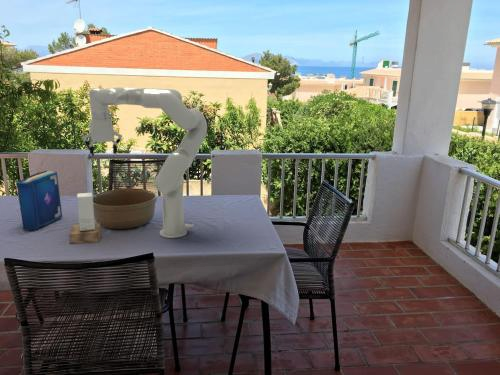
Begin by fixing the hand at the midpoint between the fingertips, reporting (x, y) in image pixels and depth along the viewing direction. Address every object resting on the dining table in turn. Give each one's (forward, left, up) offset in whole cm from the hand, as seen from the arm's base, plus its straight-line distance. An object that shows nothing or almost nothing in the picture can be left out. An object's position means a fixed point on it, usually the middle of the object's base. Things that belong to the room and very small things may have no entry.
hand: (103, 154), depth 187 cm
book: (+29, -20, -37) cm, 51 cm away
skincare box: (+10, +7, -32) cm, 34 cm away
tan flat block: (+11, +7, -37) cm, 39 cm away
